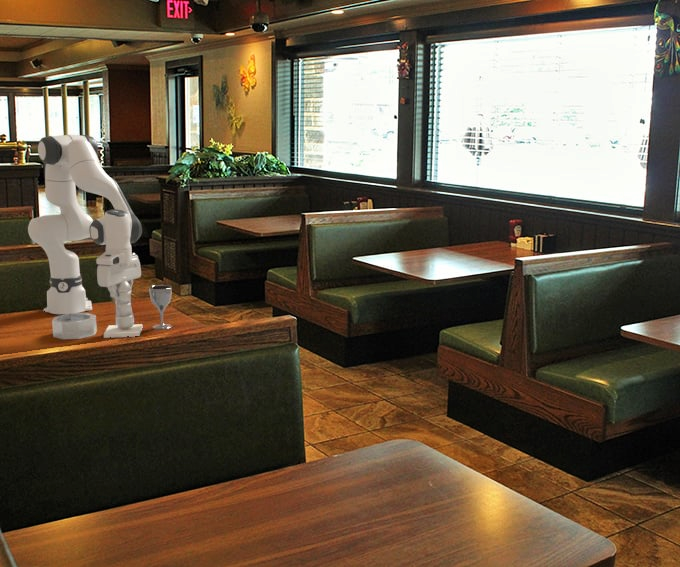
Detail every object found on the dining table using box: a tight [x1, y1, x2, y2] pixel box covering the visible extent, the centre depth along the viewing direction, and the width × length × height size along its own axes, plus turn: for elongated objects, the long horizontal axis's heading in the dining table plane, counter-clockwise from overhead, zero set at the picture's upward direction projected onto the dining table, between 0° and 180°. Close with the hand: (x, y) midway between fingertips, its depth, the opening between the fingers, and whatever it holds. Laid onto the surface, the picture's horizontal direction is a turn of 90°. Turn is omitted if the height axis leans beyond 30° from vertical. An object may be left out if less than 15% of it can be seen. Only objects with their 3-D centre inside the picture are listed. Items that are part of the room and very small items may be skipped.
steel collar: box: [51, 312, 98, 340], centre depth 282 cm, size 14×14×6 cm
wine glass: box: [149, 284, 173, 330], centre depth 291 cm, size 8×8×15 cm
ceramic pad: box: [103, 323, 143, 339], centre depth 283 cm, size 12×12×2 cm
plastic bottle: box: [113, 278, 135, 328], centre depth 282 cm, size 6×7×20 cm
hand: (121, 294), depth 281 cm, fingers open, 7 cm apart
